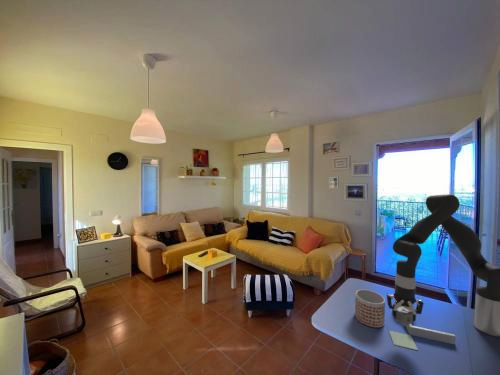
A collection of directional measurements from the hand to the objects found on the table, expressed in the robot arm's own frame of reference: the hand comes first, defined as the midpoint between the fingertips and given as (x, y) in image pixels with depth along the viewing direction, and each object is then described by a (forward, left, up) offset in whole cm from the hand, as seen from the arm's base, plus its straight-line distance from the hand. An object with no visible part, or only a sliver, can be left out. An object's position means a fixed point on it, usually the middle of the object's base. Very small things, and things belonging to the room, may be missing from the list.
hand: (403, 318), depth 97 cm
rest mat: (0, 0, -10) cm, 10 cm away
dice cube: (0, +1, -1) cm, 1 cm away
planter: (+12, -11, -11) cm, 19 cm away
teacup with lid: (-7, -26, -10) cm, 29 cm away
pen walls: (-13, -11, -10) cm, 20 cm away
